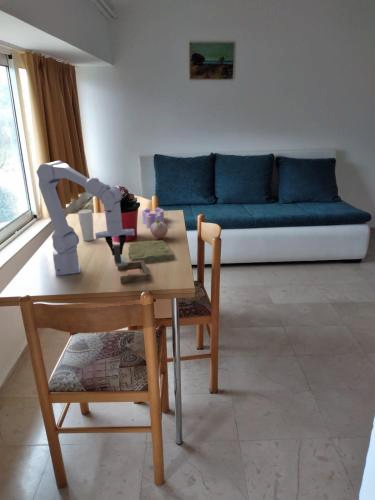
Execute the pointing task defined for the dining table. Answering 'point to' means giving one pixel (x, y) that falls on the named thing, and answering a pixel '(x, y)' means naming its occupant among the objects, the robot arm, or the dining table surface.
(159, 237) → the decorative fruit
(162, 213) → the purple lobed block
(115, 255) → the grey block
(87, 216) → the drinking glass
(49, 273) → the dining table surface
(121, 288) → the dining table surface
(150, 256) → the decorative tile
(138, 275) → the frame
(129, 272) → the salmon pink panel
